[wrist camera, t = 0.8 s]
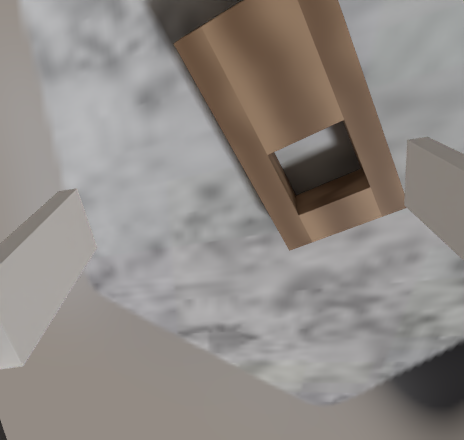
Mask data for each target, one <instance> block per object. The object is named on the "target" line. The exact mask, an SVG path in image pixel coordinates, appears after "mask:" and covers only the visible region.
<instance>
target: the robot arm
mask: <svg viewBox="0 0 464 440" xmlns="http://www.w3.org/2000/svg"><path fill="white" fill-rule="evenodd" d="M404 205H405V206H406V207H407V208H408V209H409V210H410V211H411V212H412V213H413V214H414V215H415V216H416V217H418V218H419V219H420V220H421V221H422V222H423V223H424V224H425V225H426V226H427V227H428V228H429V229H430V230H432V231H433V232H434V233H435V234H436V235H437V236H438V237H439V238H440V239H441V240H442V241H443V242H445V243H446V244H447V245H448V246H449V247H450V248H451V249H452V250H453V251H454V252H455V253H456V254H457V255H459V256H460V257H461V258H462V259H463V260H464V154H462V153H460V152H458V151H456V150H454V149H452V148H450V147H448V146H445V145H443V144H441V143H439V142H437V141H435V140H433V139H431V138H429V137H424V138H417V139H410V140H407V158H406V178H405V199H404ZM96 249H97V245H96V242H95V239H94V236H93V233H92V231H91V228H90V225H89V222H88V219H87V216H86V213H85V210H84V207H83V204H82V201H81V199H80V196H79V193H78V190H77V189H71V190H64V191H59V192H57V193H56V194H55V195H54V196H53V197H52V198H51V199H50V200H48V201H47V202H46V203H45V204H44V205H43V206H42V207H41V208H40V209H38V210H37V211H36V212H35V213H34V214H33V215H32V216H31V217H29V218H28V219H27V220H26V221H25V222H24V223H23V224H22V225H20V226H19V227H18V228H17V229H16V230H15V231H14V232H13V233H12V234H11V235H10V236H8V237H7V238H6V239H5V240H4V241H3V242H2V243H0V369H5V368H14V367H21V366H24V364H25V363H26V361H27V360H28V358H29V356H30V355H31V353H32V352H33V350H34V348H35V346H36V345H37V343H38V342H39V340H40V339H41V337H42V335H43V334H44V332H45V331H46V329H47V328H48V326H49V324H50V323H51V321H52V320H53V318H54V316H55V315H56V313H57V312H58V310H59V308H60V307H61V305H62V304H63V302H64V300H65V299H66V297H67V295H68V294H69V292H70V291H71V289H72V287H73V286H74V284H75V283H76V281H77V280H78V278H79V276H80V275H81V273H82V272H83V270H84V268H85V267H86V265H87V264H88V262H89V260H90V259H91V257H92V256H93V254H94V252H95V251H96ZM0 440H7V439H6V436H5V433H4V430H3V427H2V424H1V421H0Z"/></svg>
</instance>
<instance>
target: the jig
mask: <svg viewBox="0 0 464 440" xmlns="http://www.w3.org/2000/svg"><path fill="white" fill-rule="evenodd" d="M174 45H175V47H176V49H177V51H178V53H179V54H180V56H181V58H182V60H183V62H184V63H185V65H186V67H187V69H188V70H189V72H190V74H191V76H192V78H193V79H194V81H195V83H196V85H197V86H198V88H199V90H200V92H201V94H202V95H203V97H204V99H205V101H206V103H207V104H208V106H209V108H210V110H211V111H212V113H213V115H214V117H215V119H216V120H217V122H218V124H219V126H220V127H221V129H222V131H223V133H224V135H225V136H226V138H227V140H228V142H229V144H230V145H231V147H232V149H233V151H234V152H235V154H236V156H237V158H238V160H239V161H240V163H241V165H242V167H243V169H244V170H245V172H246V174H247V176H248V177H249V179H250V181H251V183H252V185H253V186H254V188H255V190H256V192H257V193H258V195H259V197H260V199H261V201H262V202H263V204H264V206H265V208H266V210H267V211H268V213H269V215H270V217H271V218H272V220H273V222H274V224H275V226H276V227H277V229H278V231H279V233H280V234H281V236H282V238H283V240H284V242H285V243H286V245H287V247H288V249H289V251H290V250H292V249H295V248H298V247H301V246H303V245H306V244H309V243H312V242H314V241H317V240H320V239H323V238H325V237H328V236H331V235H333V234H336V233H339V232H342V231H344V230H347V229H350V228H353V227H355V226H358V225H361V224H363V223H366V222H369V221H372V220H374V219H377V218H380V217H383V216H385V215H388V214H391V213H394V212H396V211H399V210H402V209H404V208H407V207H406V206H405V205H404V199H405V194H404V191H403V188H402V185H401V182H400V179H399V176H398V174H397V171H396V168H395V165H394V162H393V159H392V156H391V153H390V150H389V147H388V144H387V142H386V139H385V136H384V133H383V130H382V127H381V124H380V121H379V118H378V115H377V112H376V110H375V107H374V104H373V101H372V98H371V95H370V92H369V89H368V86H367V83H366V80H365V78H364V75H363V72H362V69H361V66H360V63H359V60H358V57H357V54H356V51H355V48H354V46H353V43H352V40H351V37H350V34H349V31H348V28H347V25H346V22H345V19H344V16H343V13H342V11H341V8H340V5H339V2H338V0H242V1H241V2H239V3H237V4H236V5H234V6H232V7H231V8H229V9H228V10H226V11H224V12H223V13H221V14H219V15H218V16H216V17H214V18H213V19H211V20H210V21H208V22H206V23H205V24H203V25H201V26H200V27H198V28H197V29H195V30H193V31H192V32H190V33H188V34H187V35H185V36H184V37H182V38H181V39H179V40H178V41H177V42H175V43H174ZM340 121H343V123H344V126H345V128H346V131H347V133H348V136H349V138H350V141H351V144H352V146H353V149H354V151H355V154H356V156H357V159H358V161H359V164H360V166H361V169H359V170H357V171H354V172H352V173H349V174H347V175H345V176H342V177H340V178H337V179H335V180H332V181H330V182H328V183H325V184H323V185H320V186H318V187H315V188H313V189H311V190H308V191H306V192H303V193H301V194H299V195H296V194H295V193H294V191H293V189H292V187H291V185H290V183H289V181H288V179H287V177H286V175H285V173H284V171H283V169H282V167H281V165H280V163H279V161H278V159H277V157H276V155H275V153H274V152H275V151H277V150H279V149H282V148H284V147H286V146H288V145H290V144H293V143H295V142H297V141H299V140H301V139H303V138H306V137H308V136H310V135H312V134H314V133H316V132H319V131H321V130H323V129H325V128H327V127H330V126H332V125H334V124H336V123H338V122H340Z"/></svg>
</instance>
